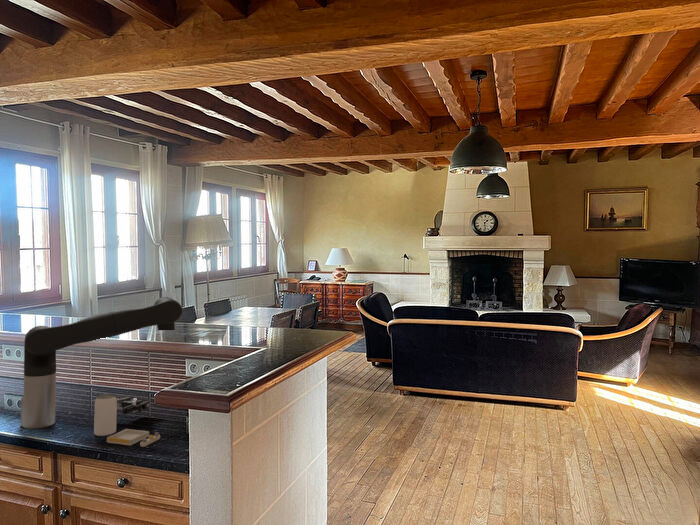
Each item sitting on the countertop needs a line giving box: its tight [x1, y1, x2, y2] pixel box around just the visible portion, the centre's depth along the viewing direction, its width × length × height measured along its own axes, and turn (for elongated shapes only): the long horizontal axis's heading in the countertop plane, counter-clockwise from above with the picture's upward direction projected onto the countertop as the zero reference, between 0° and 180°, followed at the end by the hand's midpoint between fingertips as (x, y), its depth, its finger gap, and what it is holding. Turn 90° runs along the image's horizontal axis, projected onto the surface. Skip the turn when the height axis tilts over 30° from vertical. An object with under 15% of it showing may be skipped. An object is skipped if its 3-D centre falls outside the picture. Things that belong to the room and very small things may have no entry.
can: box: [93, 393, 118, 437], centre depth 160 cm, size 6×6×12 cm
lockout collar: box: [106, 428, 150, 446], centre depth 154 cm, size 9×9×2 cm
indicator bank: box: [139, 431, 161, 448], centre depth 152 cm, size 1×8×2 cm, turn 165°
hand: (112, 410), depth 163 cm, fingers open, 8 cm apart
